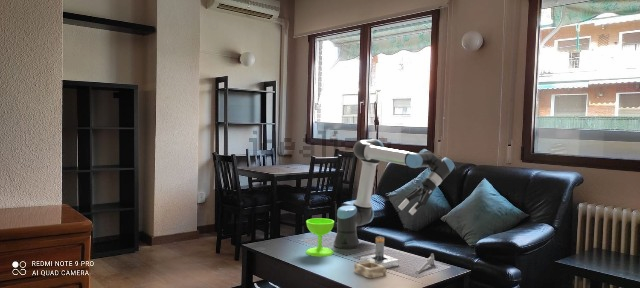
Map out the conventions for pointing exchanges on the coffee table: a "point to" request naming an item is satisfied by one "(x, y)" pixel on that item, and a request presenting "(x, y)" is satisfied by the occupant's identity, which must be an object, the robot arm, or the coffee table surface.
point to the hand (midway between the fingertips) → (404, 211)
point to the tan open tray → (370, 269)
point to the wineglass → (320, 235)
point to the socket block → (386, 262)
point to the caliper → (426, 263)
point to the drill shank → (379, 248)
